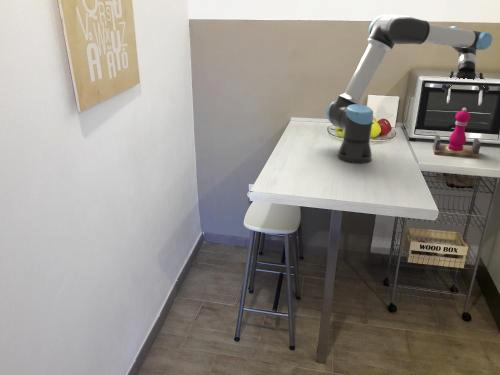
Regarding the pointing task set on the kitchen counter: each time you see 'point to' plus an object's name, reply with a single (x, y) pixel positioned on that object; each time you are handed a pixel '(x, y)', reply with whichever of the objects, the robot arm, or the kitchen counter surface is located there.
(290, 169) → the kitchen counter surface
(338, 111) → the robot arm
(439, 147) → the level stand
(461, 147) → the pepper mill
